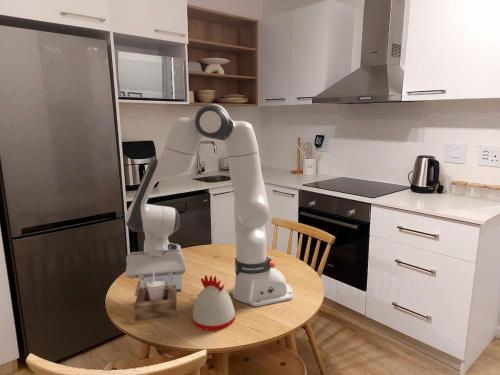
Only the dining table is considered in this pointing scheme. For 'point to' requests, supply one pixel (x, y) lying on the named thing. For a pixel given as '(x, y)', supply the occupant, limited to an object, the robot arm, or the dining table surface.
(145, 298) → the holder collar
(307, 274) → the dining table surface
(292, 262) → the dining table surface
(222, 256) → the dining table surface
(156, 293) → the smoothie
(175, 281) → the rubber mat
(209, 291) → the kitchen timer
